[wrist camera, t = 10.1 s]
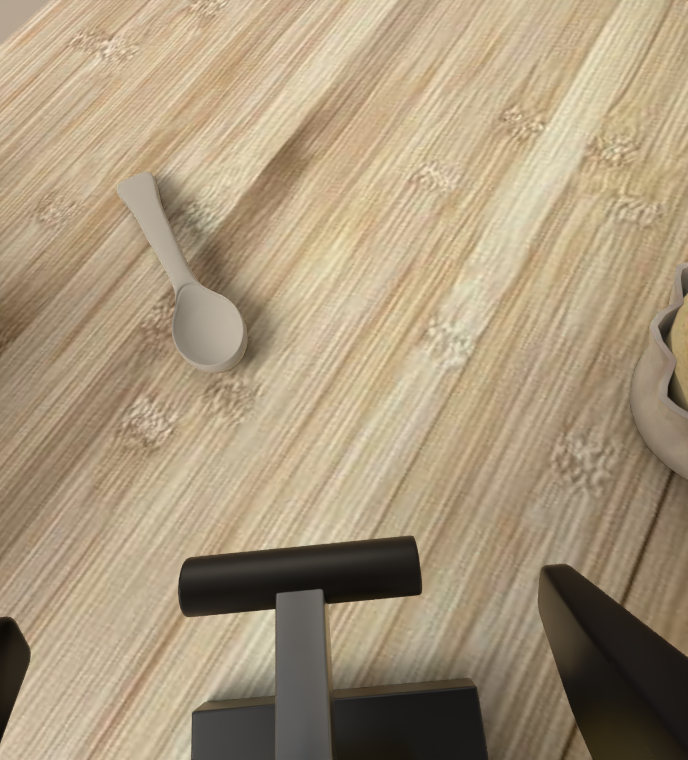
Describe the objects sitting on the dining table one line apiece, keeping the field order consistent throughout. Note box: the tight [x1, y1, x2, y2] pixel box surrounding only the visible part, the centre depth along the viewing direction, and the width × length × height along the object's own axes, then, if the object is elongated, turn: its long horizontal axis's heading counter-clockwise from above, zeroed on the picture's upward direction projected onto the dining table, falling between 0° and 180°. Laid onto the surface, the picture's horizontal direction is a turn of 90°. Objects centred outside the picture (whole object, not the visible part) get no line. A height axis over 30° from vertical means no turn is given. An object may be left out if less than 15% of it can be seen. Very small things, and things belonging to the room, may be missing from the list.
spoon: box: [116, 172, 248, 373], centre depth 22 cm, size 3×12×2 cm, turn 29°
